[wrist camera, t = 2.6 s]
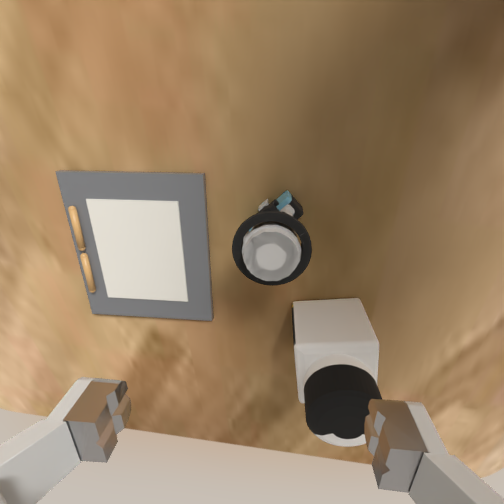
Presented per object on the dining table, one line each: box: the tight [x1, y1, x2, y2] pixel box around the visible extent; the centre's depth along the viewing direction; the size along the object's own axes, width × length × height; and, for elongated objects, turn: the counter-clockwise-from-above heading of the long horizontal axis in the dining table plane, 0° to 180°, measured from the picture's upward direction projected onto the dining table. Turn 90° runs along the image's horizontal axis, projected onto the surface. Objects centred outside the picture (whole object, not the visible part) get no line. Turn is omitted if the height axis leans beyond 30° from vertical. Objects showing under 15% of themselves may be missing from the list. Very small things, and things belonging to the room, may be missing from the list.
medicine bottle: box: [292, 298, 382, 447], centre depth 27 cm, size 7×7×12 cm
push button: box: [232, 190, 312, 285], centre depth 24 cm, size 7×5×10 cm
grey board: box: [56, 170, 213, 321], centre depth 30 cm, size 14×16×1 cm
